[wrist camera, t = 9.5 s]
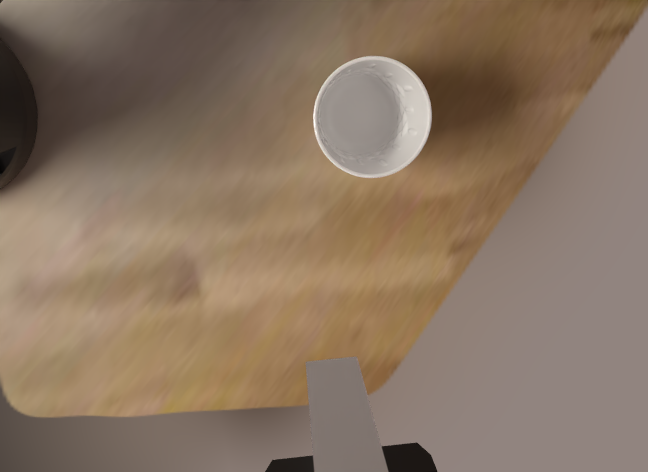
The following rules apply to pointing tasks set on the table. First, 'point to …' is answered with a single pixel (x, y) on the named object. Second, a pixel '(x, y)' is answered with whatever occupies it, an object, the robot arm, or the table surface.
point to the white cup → (372, 116)
